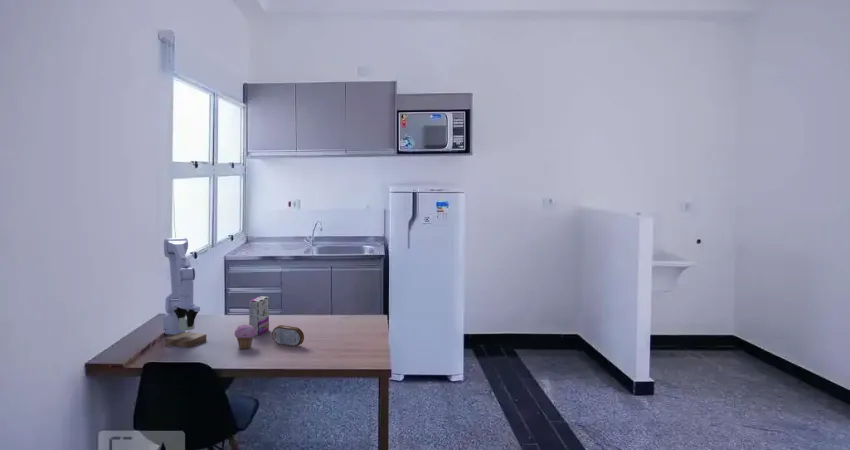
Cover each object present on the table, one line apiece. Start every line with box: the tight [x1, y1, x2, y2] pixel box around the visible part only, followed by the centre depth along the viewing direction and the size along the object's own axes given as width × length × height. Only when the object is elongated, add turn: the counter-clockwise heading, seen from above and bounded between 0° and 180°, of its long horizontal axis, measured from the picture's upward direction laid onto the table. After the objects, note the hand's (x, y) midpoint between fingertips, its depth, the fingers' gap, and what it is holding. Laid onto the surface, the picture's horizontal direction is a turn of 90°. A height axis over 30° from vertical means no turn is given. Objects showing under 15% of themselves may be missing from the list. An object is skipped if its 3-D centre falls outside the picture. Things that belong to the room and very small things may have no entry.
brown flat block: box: [164, 331, 207, 349], centre depth 268 cm, size 12×12×3 cm
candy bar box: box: [248, 295, 270, 337], centre depth 288 cm, size 11×5×16 cm, turn 168°
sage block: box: [179, 316, 195, 331], centre depth 268 cm, size 4×4×5 cm
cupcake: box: [234, 324, 256, 350], centre depth 264 cm, size 9×9×10 cm
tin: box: [271, 324, 305, 347], centre depth 270 cm, size 15×3×8 cm, turn 71°
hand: (186, 325), depth 267 cm, fingers closed on sage block, 4 cm apart
